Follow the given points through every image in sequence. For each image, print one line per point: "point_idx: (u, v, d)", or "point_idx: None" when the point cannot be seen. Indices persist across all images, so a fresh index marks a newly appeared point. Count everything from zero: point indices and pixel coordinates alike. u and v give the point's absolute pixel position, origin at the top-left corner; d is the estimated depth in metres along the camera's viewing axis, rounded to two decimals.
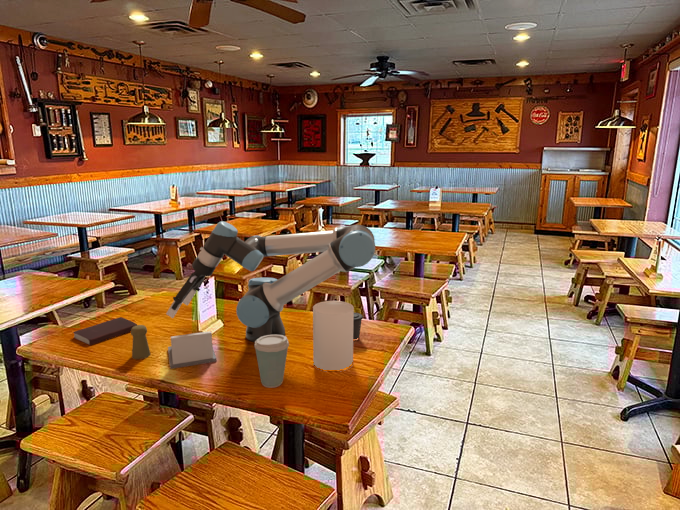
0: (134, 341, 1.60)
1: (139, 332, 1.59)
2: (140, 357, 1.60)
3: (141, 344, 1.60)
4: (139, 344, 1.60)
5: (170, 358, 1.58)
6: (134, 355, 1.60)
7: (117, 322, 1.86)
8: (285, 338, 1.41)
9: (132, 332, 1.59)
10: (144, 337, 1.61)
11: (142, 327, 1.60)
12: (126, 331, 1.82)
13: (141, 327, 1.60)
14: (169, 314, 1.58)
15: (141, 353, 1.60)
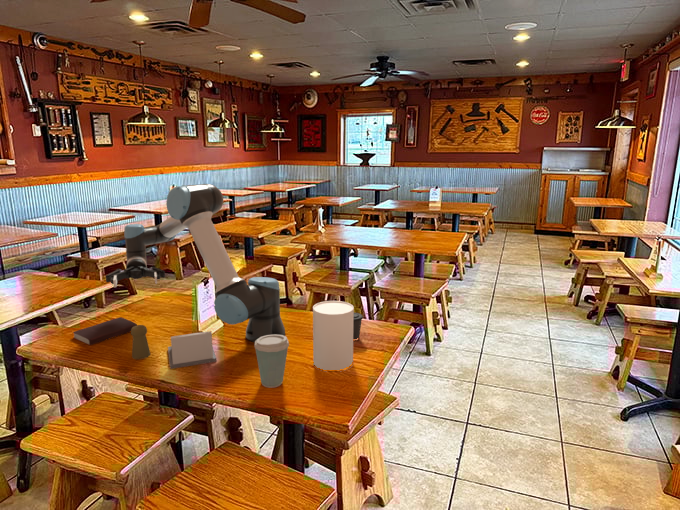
0: (134, 341, 1.60)
1: (139, 333, 1.59)
2: (140, 357, 1.60)
3: (141, 344, 1.60)
4: (139, 344, 1.60)
5: (170, 358, 1.58)
6: (134, 355, 1.60)
7: (117, 322, 1.86)
8: (285, 338, 1.41)
9: (132, 332, 1.59)
10: (144, 337, 1.61)
11: (142, 327, 1.60)
12: (126, 331, 1.82)
13: (141, 327, 1.60)
14: None
15: (141, 353, 1.60)
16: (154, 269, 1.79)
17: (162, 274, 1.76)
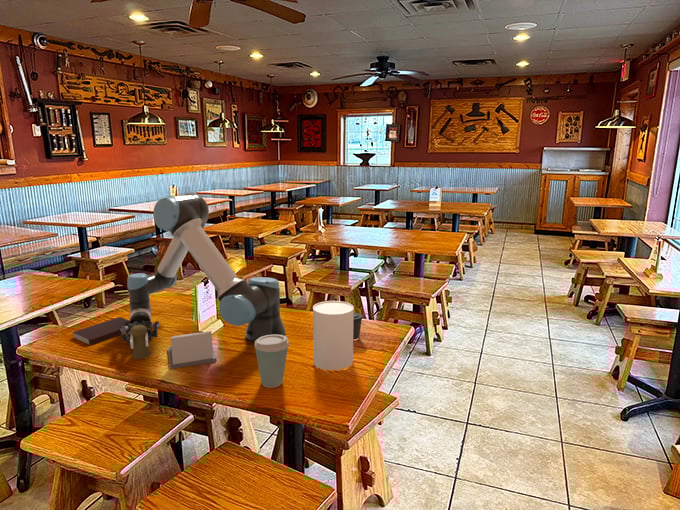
0: (134, 341, 1.60)
1: (139, 332, 1.59)
2: (140, 357, 1.60)
3: (141, 344, 1.60)
4: (139, 343, 1.60)
5: (170, 358, 1.58)
6: (134, 355, 1.60)
7: (116, 322, 1.86)
8: (285, 338, 1.41)
9: (132, 332, 1.59)
10: (144, 337, 1.61)
11: (142, 327, 1.60)
12: None
13: (141, 327, 1.60)
14: None
15: (141, 353, 1.60)
16: None
17: (153, 334, 1.65)
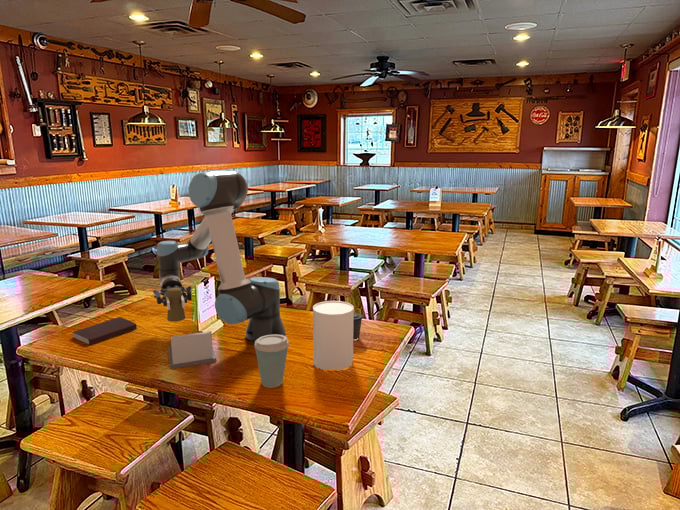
0: (170, 303, 1.58)
1: (175, 294, 1.57)
2: (176, 319, 1.58)
3: (177, 306, 1.58)
4: (175, 306, 1.58)
5: (170, 358, 1.58)
6: (170, 317, 1.58)
7: (116, 322, 1.86)
8: (285, 338, 1.41)
9: (168, 294, 1.57)
10: (180, 299, 1.59)
11: (178, 289, 1.58)
12: (125, 331, 1.83)
13: (177, 289, 1.58)
14: (167, 306, 1.54)
15: (176, 316, 1.58)
16: (186, 290, 1.68)
17: (188, 297, 1.63)
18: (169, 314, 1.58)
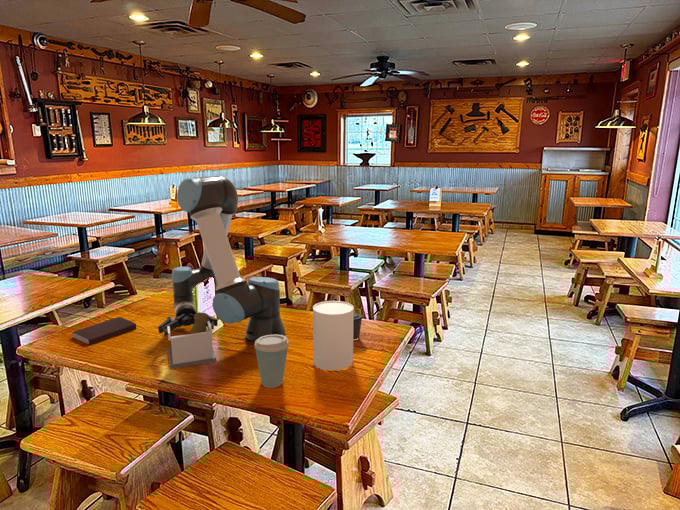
0: (195, 326, 1.62)
1: (203, 318, 1.62)
2: None
3: (201, 330, 1.62)
4: (199, 330, 1.62)
5: (170, 358, 1.58)
6: None
7: (116, 322, 1.87)
8: (285, 338, 1.41)
9: (196, 317, 1.62)
10: (205, 325, 1.64)
11: (206, 314, 1.64)
12: (125, 331, 1.83)
13: (205, 314, 1.64)
14: (168, 336, 1.56)
15: None
16: None
17: (215, 323, 1.68)
18: None
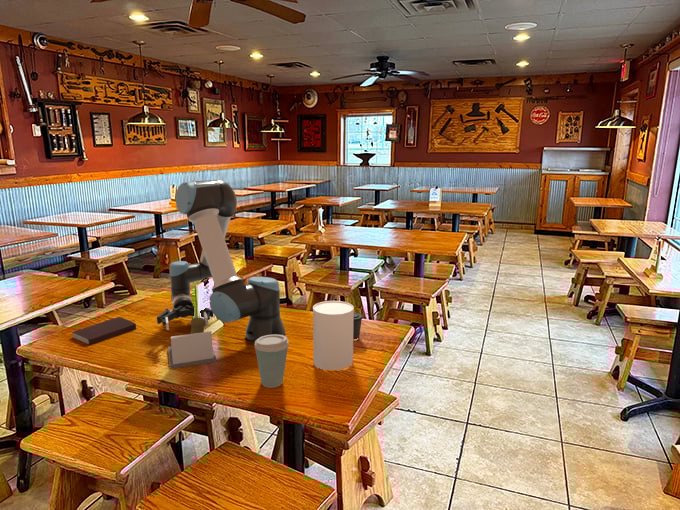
0: (191, 332, 1.63)
1: (197, 324, 1.62)
2: None
3: None
4: None
5: (170, 358, 1.58)
6: None
7: (116, 322, 1.87)
8: (285, 338, 1.41)
9: (191, 322, 1.62)
10: (201, 330, 1.63)
11: (201, 319, 1.63)
12: (125, 330, 1.83)
13: (200, 319, 1.63)
14: (166, 326, 1.65)
15: None
16: None
17: (211, 314, 1.77)
18: None
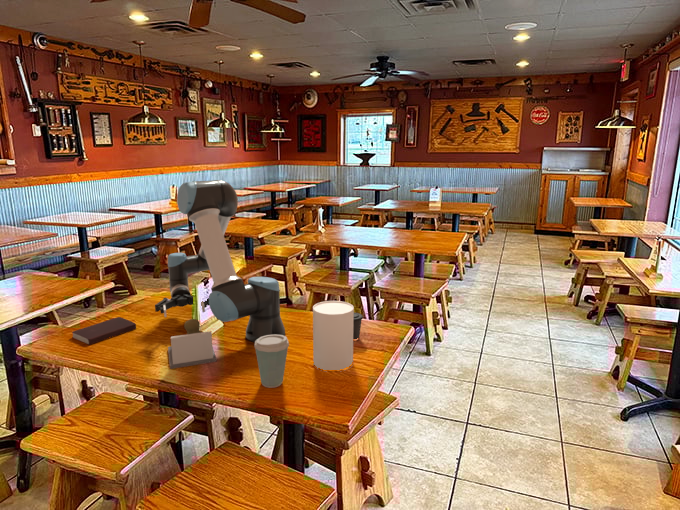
0: None
1: (190, 327, 1.60)
2: None
3: None
4: None
5: (170, 358, 1.58)
6: None
7: (116, 322, 1.87)
8: (285, 338, 1.41)
9: (184, 326, 1.61)
10: (196, 332, 1.62)
11: (193, 322, 1.61)
12: (125, 330, 1.83)
13: (192, 322, 1.61)
14: (164, 313, 1.69)
15: None
16: None
17: (208, 302, 1.81)
18: None
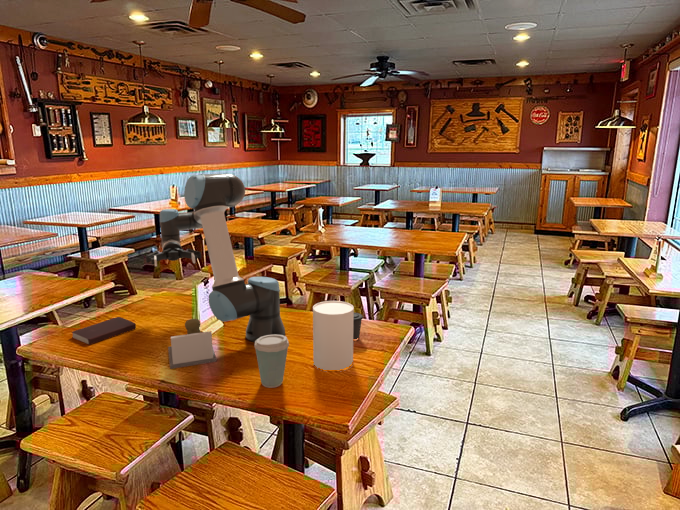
0: None
1: (190, 326, 1.61)
2: None
3: None
4: None
5: (170, 358, 1.58)
6: None
7: (115, 322, 1.87)
8: (285, 338, 1.41)
9: (185, 325, 1.62)
10: (196, 331, 1.62)
11: (194, 321, 1.62)
12: (125, 330, 1.83)
13: (193, 321, 1.62)
14: None
15: None
16: (190, 251, 1.86)
17: (198, 255, 1.83)
18: None
